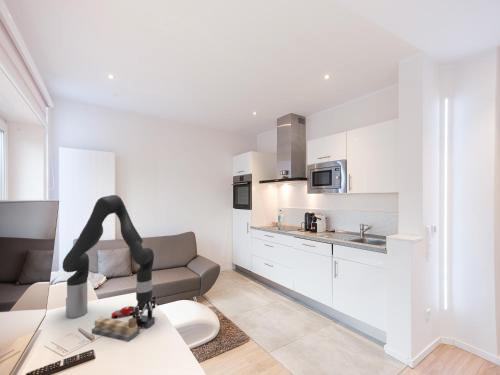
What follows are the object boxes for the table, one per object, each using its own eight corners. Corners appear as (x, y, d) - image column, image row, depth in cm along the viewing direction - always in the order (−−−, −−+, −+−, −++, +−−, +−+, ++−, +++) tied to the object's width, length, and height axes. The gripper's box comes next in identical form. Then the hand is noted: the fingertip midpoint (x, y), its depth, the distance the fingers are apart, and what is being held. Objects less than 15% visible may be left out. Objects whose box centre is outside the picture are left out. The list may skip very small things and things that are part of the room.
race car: (110, 320, 128) (110, 312, 128) (112, 315, 133) (112, 308, 133) (137, 315, 133) (137, 308, 133) (138, 310, 138) (138, 303, 138)
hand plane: (91, 333, 116) (91, 316, 116) (104, 325, 122) (104, 309, 123) (129, 341, 109) (129, 323, 109) (140, 333, 115) (140, 316, 115)
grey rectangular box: (134, 326, 121) (134, 319, 121) (141, 321, 126) (141, 314, 126) (147, 329, 119) (147, 322, 119) (154, 323, 124) (154, 317, 124)
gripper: (148, 283, 131) (148, 314, 131) (127, 293, 117) (127, 328, 117) (160, 284, 128) (160, 316, 128) (139, 295, 115) (140, 331, 115)
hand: (144, 322), depth 123 cm, fingers open, 6 cm apart
